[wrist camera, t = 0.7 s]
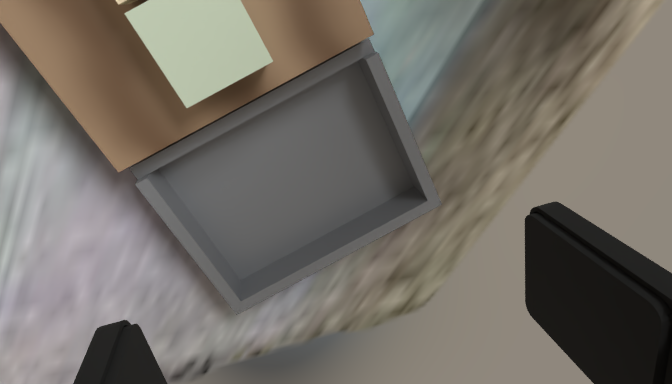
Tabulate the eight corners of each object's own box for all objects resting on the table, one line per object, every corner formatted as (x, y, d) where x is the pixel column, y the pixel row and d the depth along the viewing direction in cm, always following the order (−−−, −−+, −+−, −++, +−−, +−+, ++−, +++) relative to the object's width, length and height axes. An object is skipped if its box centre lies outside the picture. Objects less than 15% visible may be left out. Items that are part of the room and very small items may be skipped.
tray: (358, 35, 36) (372, 39, 32) (424, 186, 42) (441, 204, 39) (137, 155, 36) (126, 173, 32) (236, 288, 42) (236, 314, 39)
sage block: (221, -35, 27) (219, -39, 25) (269, 55, 30) (273, 61, 27) (135, 12, 28) (124, 13, 25) (191, 98, 30) (186, 108, 27)
